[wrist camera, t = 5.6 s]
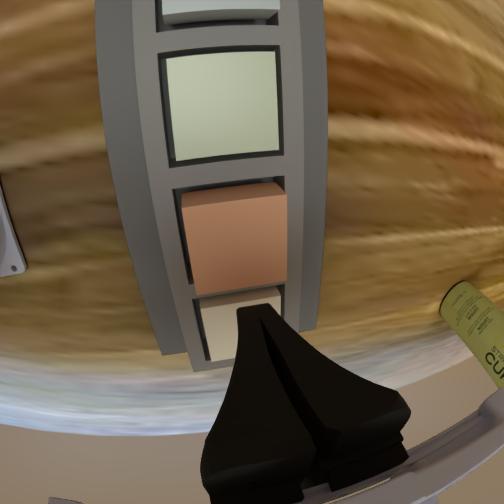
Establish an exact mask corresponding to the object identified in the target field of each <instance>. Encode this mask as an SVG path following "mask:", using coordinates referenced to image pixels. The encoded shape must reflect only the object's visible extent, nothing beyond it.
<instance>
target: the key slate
mask: <svg viewBox="0 0 504 504" xmlns="http://www.w3.org/2000/svg"><path fill="white" fill-rule="evenodd" d="M279 10H280V0H162V15H163V19H164V23H165V25H172V24H180V23H189V22H200V21H213V20H236V19H269V18H270V17H271V16H273V15H274V14H275V13H277V12H278V11H279Z"/></svg>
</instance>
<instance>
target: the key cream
mask: <svg viewBox="0 0 504 504" xmlns="http://www.w3.org/2000/svg"><path fill="white" fill-rule="evenodd" d="M199 302H200V310H201V315H202V320H203V325H204V329H205V334H206V339H207V343H208V348H209V353H210V357H211V362H213V361H220V360H226V359H232V358H235V356H236V350H237V342H238V326H237V315H236V310H237V309H238V308H239V307H245V306H251V305H257V304H263V303H269V304H271V305H272V307H273V308H274V309H275V310H276V311H277V313H278V314H279V315H280V316H281V295H280V293H279V291H278V289H277V287H276V285H275V286H269V287H263V288H258V289H252V290H246V291H240V292H233V293H227V294H221V295H215V296H208V297H202V298H199Z"/></svg>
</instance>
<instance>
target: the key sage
mask: <svg viewBox="0 0 504 504" xmlns="http://www.w3.org/2000/svg"><path fill="white" fill-rule="evenodd" d="M166 62H167V75H168V87H169V99H170V109H171V119H172V128H173V137H174V146H175V154H176V161H181V160H188V159H195V158H202V157H210V156H219V155H228V154H237V153H247V152H258V151H271V150H279V137H278V108H277V84H276V63H275V52H231V53H215V54H203V55H193V56H184V57H176V58H169V59H166Z"/></svg>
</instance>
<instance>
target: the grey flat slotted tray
mask: <svg viewBox="0 0 504 504" xmlns="http://www.w3.org/2000/svg"><path fill="white" fill-rule="evenodd" d="M95 34H96V55H97V69H98V81H99V91H100V100H101V109H102V117H103V124H104V131H105V138H106V144H107V150H108V156H109V162H110V168H111V173H112V178H113V183H114V188H115V193H116V198H117V203H118V207H119V212H120V216H121V220H122V224H123V229H124V233H125V237H126V241H127V244H128V248H129V252H130V256H131V260H132V263H133V267H134V270H135V274H136V277H137V281H138V284H139V287H140V291H141V294H142V297H143V300H144V304H145V307H146V310H147V313H148V316H149V319H150V322H151V325H152V328H153V331H154V334H155V336H156V339H157V342H158V345H159V348H160V350H161V353H162V355H170V354H178V353H185V352H188V354H189V358H190V361H191V365H192V368H193V371H194V372H198V371H205V370H212V369H218V368H224V367H230V366H234V362H235V358H232V359H226V360H220V361H213V362H211V357H210V353H209V348H208V343H207V339H206V334H205V329H204V325H203V320H202V315H201V310H200V302H199V298H202V297H208V296H215V295H221V294H227V293H233V292H240V291H246V290H252V289H258V288H263V287H269V286H275V285H276V287H277V289H278V291H279V293H280V295H281V317H282V318H283V319H284V320H285V321H286V322H287V323H288V324H289V325H290V326H291V327H292V328H293V329H294V330H295V331H296V332H297V333H298V332H302V331H307V330H311V329H315V328H316V323H317V314H318V304H319V294H320V283H321V271H322V258H323V244H324V229H325V210H326V187H327V147H328V99H327V62H326V40H325V24H324V10H323V0H280V10H279V11H278V12H277V13H275V14H274V15H273V16H271V17H270V18H269V19H236V20H213V21H200V22H189V23H180V24H172V25H165V23H164V19H163V15H162V0H95ZM231 52H275V63H276V84H277V108H278V137H279V150H271V151H258V152H247V153H237V154H228V155H219V156H210V157H202V158H195V159H188V160H181V161H176V154H175V146H174V137H173V128H172V119H171V109H170V99H169V87H168V75H167V62H166V59H169V58H176V57H184V56H193V55H203V54H215V53H231ZM267 182H275V183H276V184H277V185H278V186H279V187H280V188H281V189H282V190H283V191H284V192H285V193H286V194H287V281H281V282H276V283H270V284H264V285H258V286H252V287H246V288H240V289H234V290H228V291H221V292H215V293H208V294H202V295H196V290H195V284H194V279H193V274H192V268H191V262H190V257H189V251H188V245H187V239H186V233H185V227H184V221H183V214H182V193H187V192H194V191H201V190H208V189H215V188H223V187H231V186H240V185H248V184H257V183H267Z"/></svg>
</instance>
